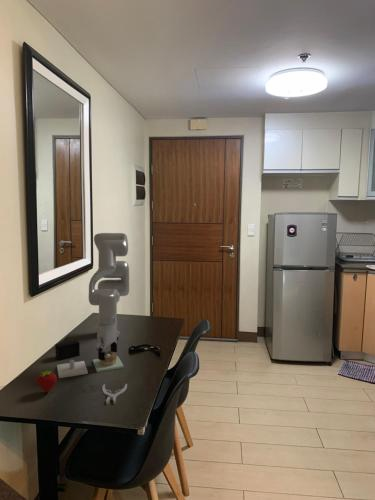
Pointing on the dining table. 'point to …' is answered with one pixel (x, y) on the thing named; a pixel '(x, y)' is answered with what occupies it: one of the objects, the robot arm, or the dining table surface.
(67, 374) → the stand
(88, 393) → the dining table surface
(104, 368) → the plate
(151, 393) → the dining table surface
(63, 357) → the digital camera
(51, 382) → the strawberry
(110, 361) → the collar
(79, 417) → the dining table surface
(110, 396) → the pliers
